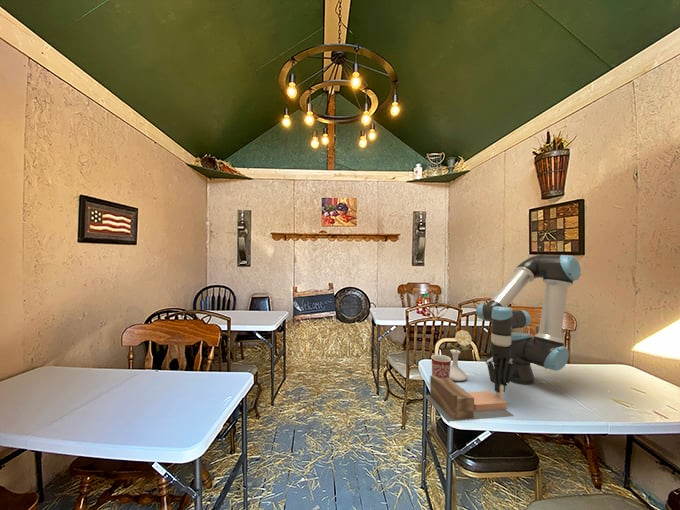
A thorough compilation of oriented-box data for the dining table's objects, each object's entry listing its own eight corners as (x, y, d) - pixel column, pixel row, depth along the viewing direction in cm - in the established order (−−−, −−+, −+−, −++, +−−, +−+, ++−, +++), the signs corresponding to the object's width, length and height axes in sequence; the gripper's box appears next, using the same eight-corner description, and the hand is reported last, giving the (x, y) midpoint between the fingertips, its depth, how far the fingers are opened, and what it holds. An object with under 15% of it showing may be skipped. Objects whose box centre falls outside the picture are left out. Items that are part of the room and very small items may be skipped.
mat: (481, 392, 132) (481, 391, 132) (514, 417, 112) (514, 416, 112) (423, 396, 127) (423, 395, 127) (448, 422, 107) (448, 421, 107)
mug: (453, 391, 132) (453, 361, 132) (432, 389, 133) (433, 360, 133) (445, 379, 145) (446, 352, 145) (427, 378, 146) (428, 351, 146)
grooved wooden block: (448, 394, 128) (448, 374, 128) (473, 417, 110) (474, 394, 110) (430, 395, 127) (430, 375, 126) (452, 419, 109) (453, 395, 109)
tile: (489, 396, 127) (489, 390, 127) (506, 408, 117) (506, 402, 117) (460, 398, 125) (460, 392, 125) (475, 411, 115) (475, 404, 115)
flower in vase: (442, 380, 143) (443, 330, 143) (443, 372, 154) (444, 325, 154) (471, 385, 138) (472, 333, 138) (470, 376, 149) (471, 328, 149)
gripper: (507, 340, 127) (506, 394, 127) (481, 341, 125) (480, 396, 125) (521, 346, 120) (519, 402, 120) (493, 347, 117) (492, 405, 117)
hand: (499, 399), depth 122 cm, fingers closed
